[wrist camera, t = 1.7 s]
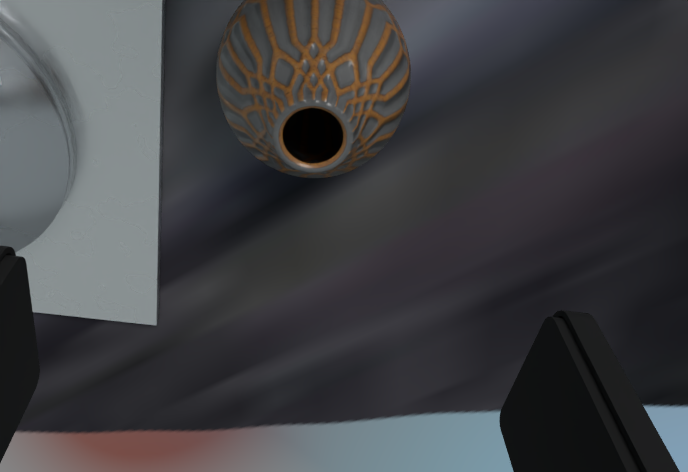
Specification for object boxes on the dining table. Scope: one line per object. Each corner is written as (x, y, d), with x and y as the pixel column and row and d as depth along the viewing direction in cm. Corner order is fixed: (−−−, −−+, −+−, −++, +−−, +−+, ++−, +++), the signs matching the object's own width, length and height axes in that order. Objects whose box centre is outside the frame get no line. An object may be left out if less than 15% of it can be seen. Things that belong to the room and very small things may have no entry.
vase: (347, -85, 23) (359, -34, 16) (427, 73, 26) (467, 175, 19) (194, 12, 24) (142, 98, 17) (288, 148, 28) (278, 267, 21)
